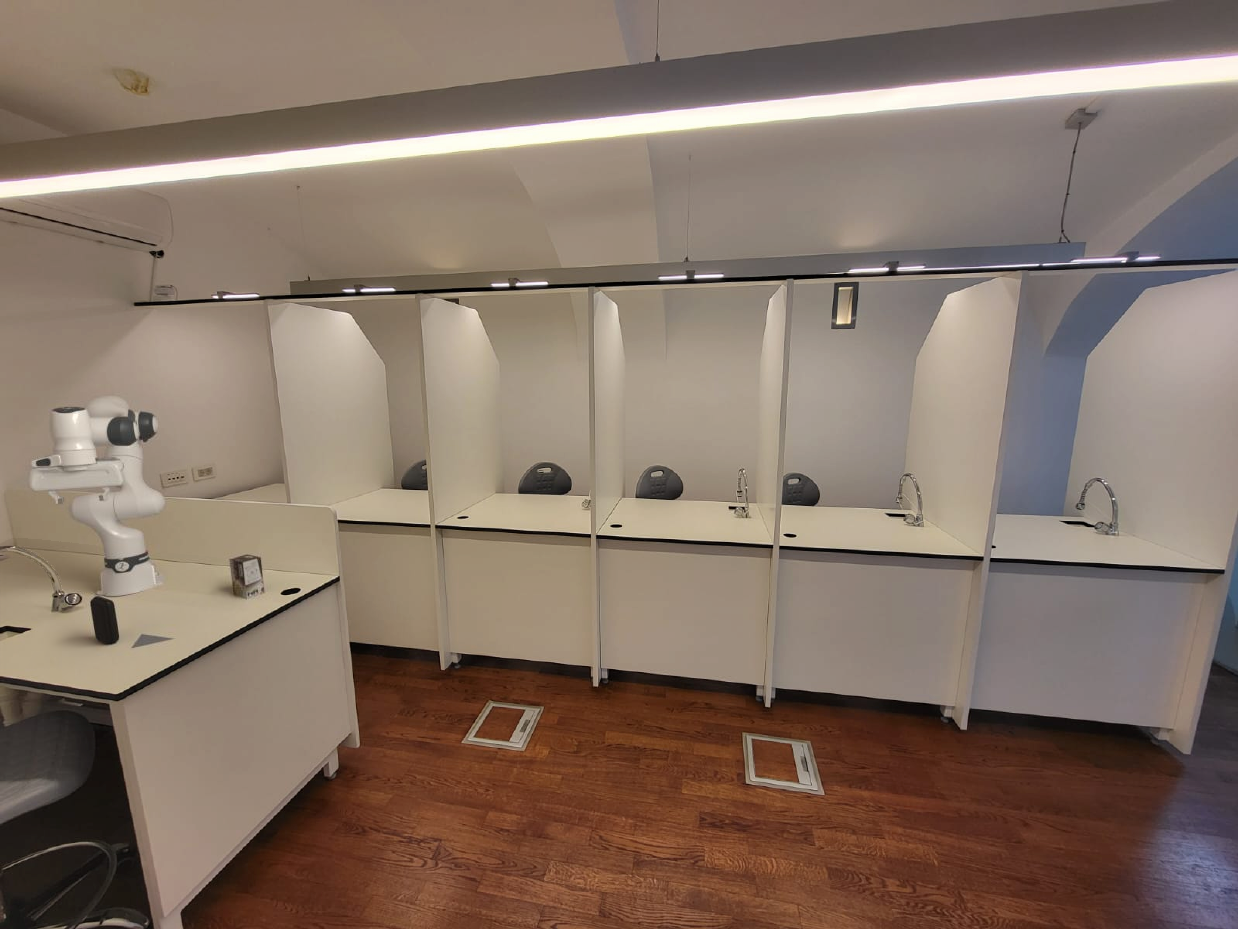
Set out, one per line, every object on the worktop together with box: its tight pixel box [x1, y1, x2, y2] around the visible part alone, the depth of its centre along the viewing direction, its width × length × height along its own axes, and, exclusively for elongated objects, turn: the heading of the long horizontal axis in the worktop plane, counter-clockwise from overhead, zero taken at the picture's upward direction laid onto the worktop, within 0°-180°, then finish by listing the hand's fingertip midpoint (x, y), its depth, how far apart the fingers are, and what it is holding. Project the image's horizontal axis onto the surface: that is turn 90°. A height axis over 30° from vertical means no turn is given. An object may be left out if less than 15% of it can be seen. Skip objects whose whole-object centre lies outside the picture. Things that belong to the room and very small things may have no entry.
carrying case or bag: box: [89, 595, 120, 645], centre depth 147 cm, size 11×3×15 cm, turn 67°
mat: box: [131, 633, 175, 649], centre depth 159 cm, size 22×22×1 cm
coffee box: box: [229, 553, 265, 600], centre depth 179 cm, size 9×6×16 cm
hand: (82, 502), depth 150 cm, fingers open, 8 cm apart
